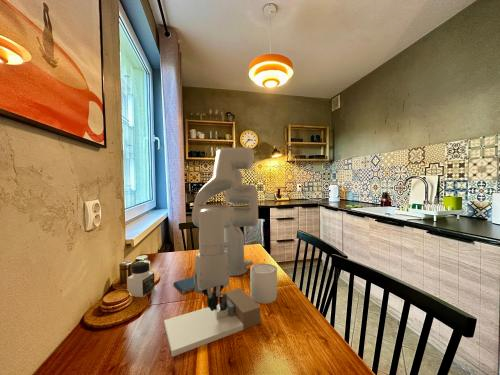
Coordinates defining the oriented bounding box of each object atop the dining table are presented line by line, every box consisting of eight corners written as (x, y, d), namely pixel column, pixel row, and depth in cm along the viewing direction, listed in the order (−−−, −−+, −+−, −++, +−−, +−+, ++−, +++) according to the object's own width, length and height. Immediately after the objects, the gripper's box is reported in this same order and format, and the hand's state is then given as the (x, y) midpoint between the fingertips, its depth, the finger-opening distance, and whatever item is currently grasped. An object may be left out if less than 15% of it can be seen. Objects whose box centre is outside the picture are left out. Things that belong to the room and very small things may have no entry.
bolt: (217, 319, 66) (216, 299, 66) (214, 315, 68) (214, 296, 68) (251, 307, 72) (251, 289, 72) (247, 304, 74) (247, 286, 74)
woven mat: (206, 287, 91) (206, 282, 91) (181, 295, 84) (181, 290, 84) (195, 279, 99) (195, 274, 99) (172, 286, 92) (172, 281, 92)
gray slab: (172, 356, 54) (171, 337, 54) (164, 325, 66) (163, 308, 66) (260, 323, 67) (260, 307, 67) (240, 301, 79) (239, 288, 79)
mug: (244, 288, 89) (243, 262, 89) (266, 284, 92) (266, 259, 92) (256, 305, 76) (256, 275, 76) (282, 300, 80) (281, 271, 79)
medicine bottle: (143, 297, 82) (142, 266, 82) (126, 296, 84) (126, 265, 83) (155, 288, 89) (154, 260, 89) (139, 287, 91) (139, 259, 90)
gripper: (229, 242, 73) (229, 296, 73) (184, 249, 66) (185, 309, 66) (239, 248, 66) (239, 307, 67) (190, 256, 59) (191, 322, 60)
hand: (212, 308), depth 66 cm, fingers closed
